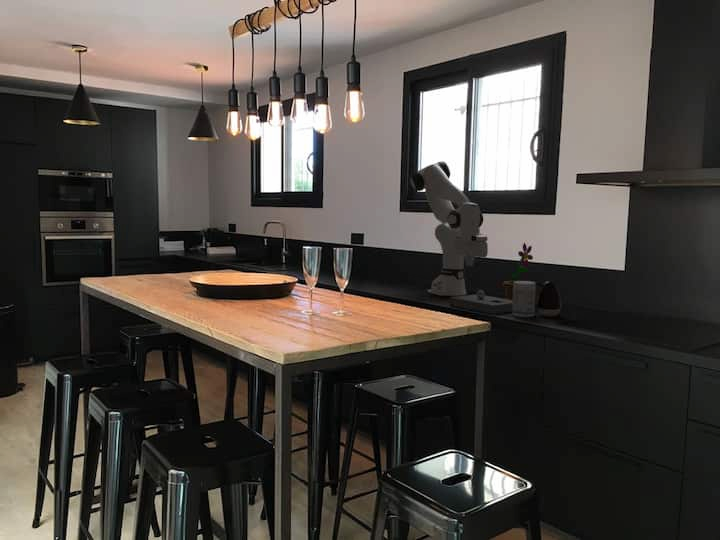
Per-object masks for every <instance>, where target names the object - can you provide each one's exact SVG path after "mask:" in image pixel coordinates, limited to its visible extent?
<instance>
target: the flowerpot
mask: <svg viewBox="0 0 720 540" xmlns="http://www.w3.org/2000/svg"><path fill="white" fill-rule="evenodd" d="M531 252H532V245H529V246H528V247H527V244H526V242H524V243H523V244H522V251H521V250H520V251H518V253H517V254H518V257H520V259H519V261H518V265H517V270H516V271H517V272H516V273H513V274H512V275H511V278H512V279H516V280H508V281H507V280H506V281H503V282H502V287H503V288H504V291H505V299H508V300H513V283H514V282H515V281H520V273H525V272H527V271H529V270H530V268H529V261H532V260H533V259H534V257H533V255H532V254H530V253H531Z"/></svg>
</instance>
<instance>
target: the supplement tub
mask: <svg viewBox="0 0 720 540" xmlns="http://www.w3.org/2000/svg"><path fill="white" fill-rule="evenodd" d="M514 281H515V282H514V283H513V308H512V312H511V314H512V315H513V316H514V317H517V318H519V317H520V318H533V317H534V316H535V314H536V293H537V292H536V290H537V287H536V286H537V283H536V282H535V281H532V280H531V281H530V280H519V281H517V280H514Z"/></svg>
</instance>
